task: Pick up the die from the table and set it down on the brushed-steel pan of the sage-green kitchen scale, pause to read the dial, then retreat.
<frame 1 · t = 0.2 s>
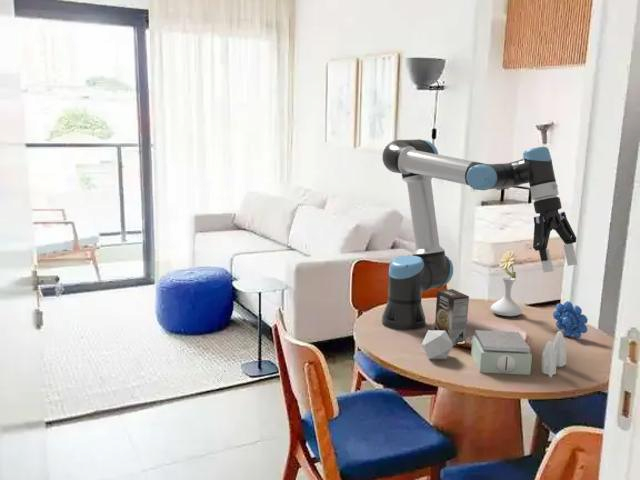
hand: (560, 268, 176), 28 cm above the table, tool tilted 20°, fingers open, 13 cm apart
salt and pepper shakers: (553, 369, 172), on the table
coffee box: (449, 341, 193), on the table
flower in vase: (506, 315, 221), on the table
die: (436, 357, 179), on the table
grapes: (567, 337, 198), on the table
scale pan: (501, 340, 173), point 7 cm above the table, slide at 0.0 cm, touching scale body
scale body: (499, 363, 175), on the table
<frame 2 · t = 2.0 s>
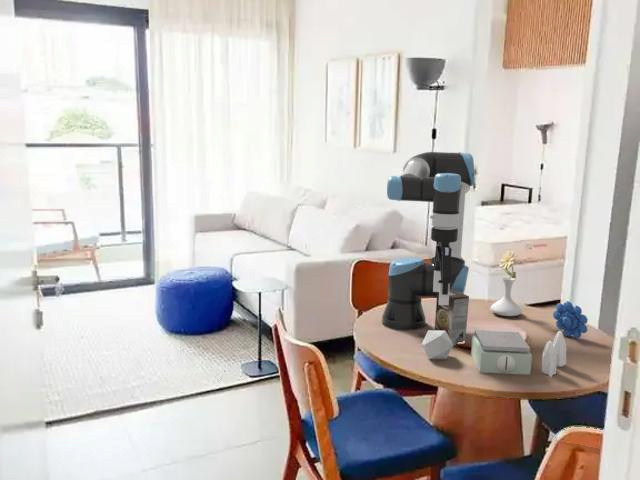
hand: (440, 298, 175), 19 cm above the table, tool pointing down, fingers open, 13 cm apart
nothing on the table moved.
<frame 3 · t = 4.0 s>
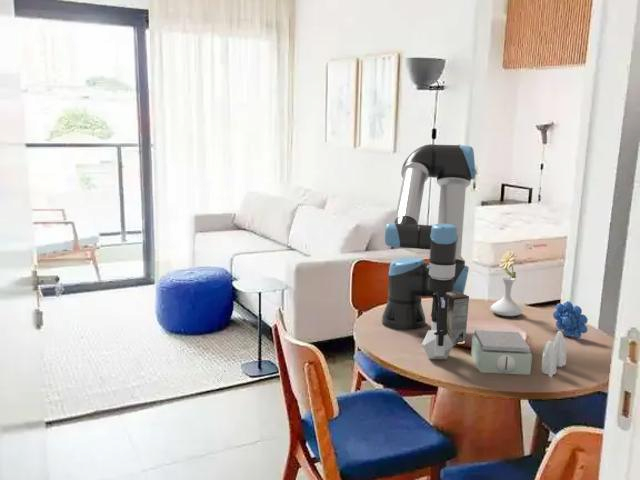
hand: (437, 348, 178), 3 cm above the table, tool pointing down, fingers closed on die, 10 cm apart
die: (436, 357, 179), on the table, touching gripper
everything else where it was.
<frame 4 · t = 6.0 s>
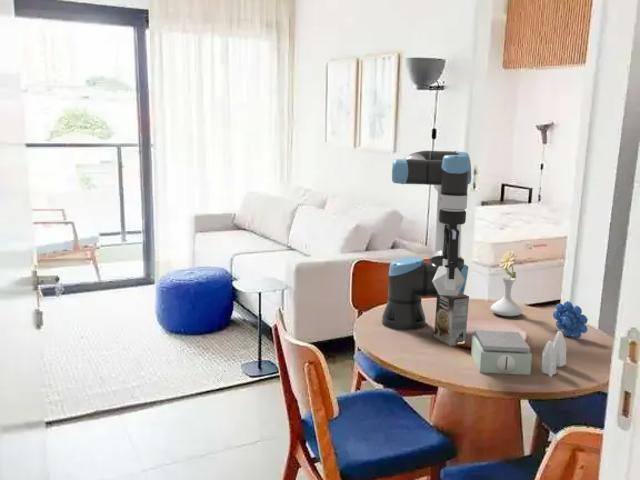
hand: (448, 284, 174), 23 cm above the table, tool pointing down, fingers closed on die, 10 cm apart
die: (447, 294, 174), point 20 cm above the table, touching gripper
everything else where it was.
when the fingers open (13 cm above the table, at t = 8.4 s): die drops 3 cm, resting on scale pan.
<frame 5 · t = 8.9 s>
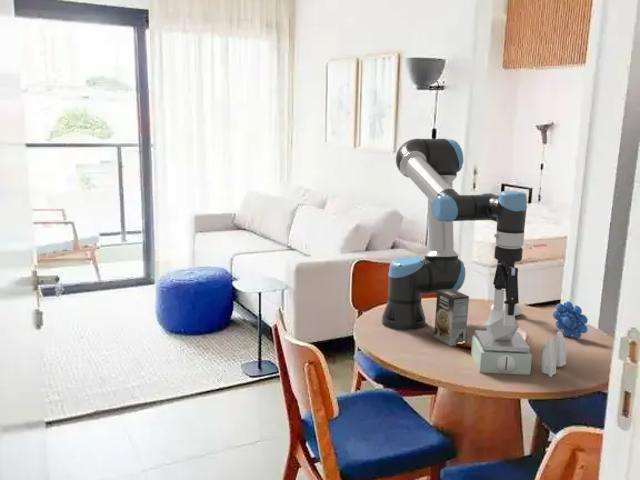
hand: (503, 317, 172), 14 cm above the table, tool pointing down, fingers open, 13 cm apart
die: (500, 339, 174), point 8 cm above the table, touching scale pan
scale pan: (501, 340, 173), point 7 cm above the table, slide at 0.0 cm, touching die, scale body
everything else where it was.
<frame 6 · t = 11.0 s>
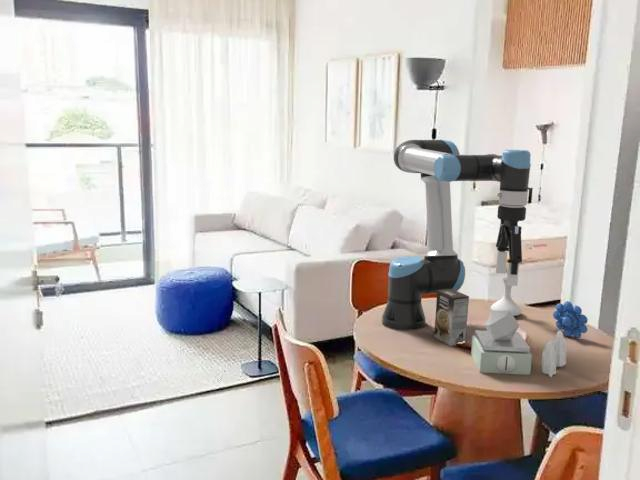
hand: (506, 279, 170), 26 cm above the table, tool pointing down, fingers open, 13 cm apart
nothing on the table moved.
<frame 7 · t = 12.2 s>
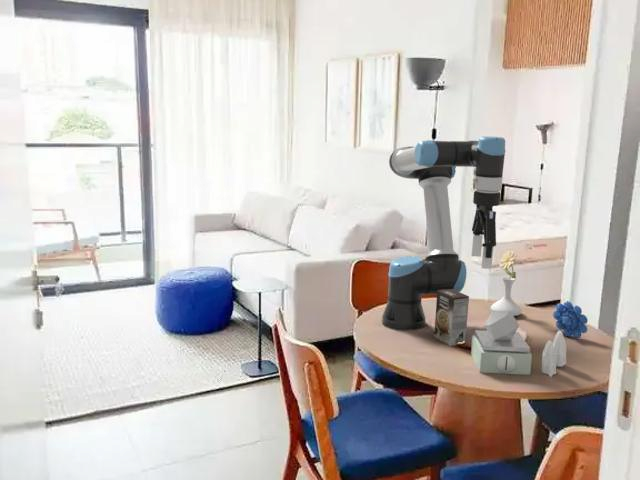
hand: (481, 262, 176), 29 cm above the table, tool pointing down, fingers open, 13 cm apart
nothing on the table moved.
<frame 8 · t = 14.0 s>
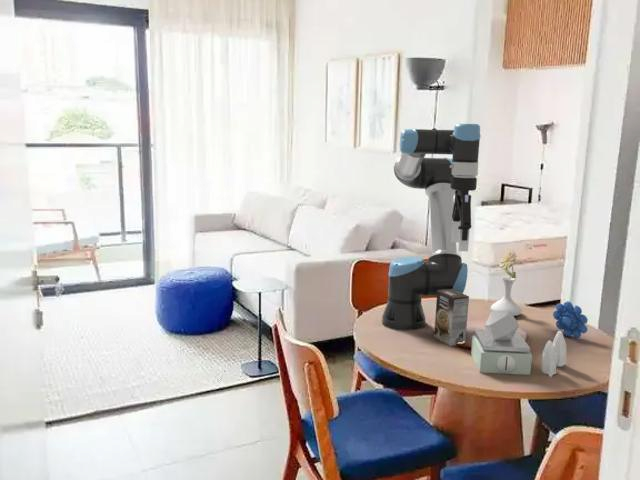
hand: (459, 246, 180), 33 cm above the table, tool pointing down, fingers open, 13 cm apart
nothing on the table moved.
at the end: die inside the target area on the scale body (0.4 cm from its centre), point 7.6 cm above the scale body's base; die tilted 0°; the gripper is holding nothing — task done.
